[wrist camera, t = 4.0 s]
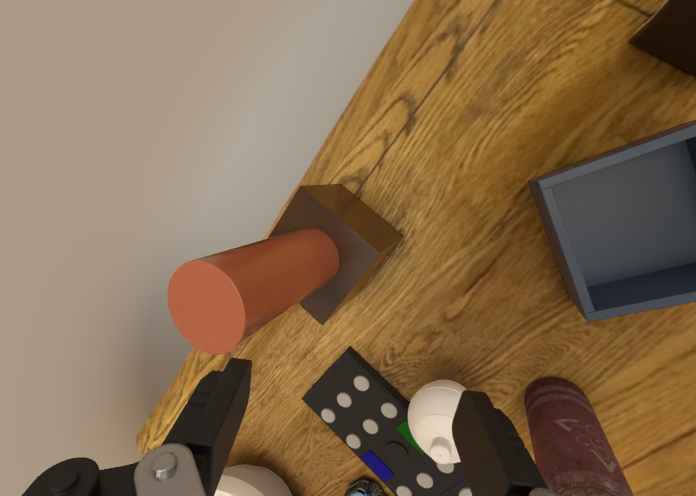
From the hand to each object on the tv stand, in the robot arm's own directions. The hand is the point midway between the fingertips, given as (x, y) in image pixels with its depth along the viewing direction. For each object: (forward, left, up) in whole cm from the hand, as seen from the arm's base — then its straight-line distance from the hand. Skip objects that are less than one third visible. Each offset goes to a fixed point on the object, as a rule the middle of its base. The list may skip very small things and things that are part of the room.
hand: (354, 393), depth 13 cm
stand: (-4, -10, -28) cm, 30 cm away
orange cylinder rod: (-4, -10, -18) cm, 21 cm away
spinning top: (+16, -4, -28) cm, 33 cm away
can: (+20, +6, -28) cm, 35 cm away
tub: (+2, +17, -28) cm, 33 cm away
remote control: (+25, -13, -28) cm, 40 cm away
